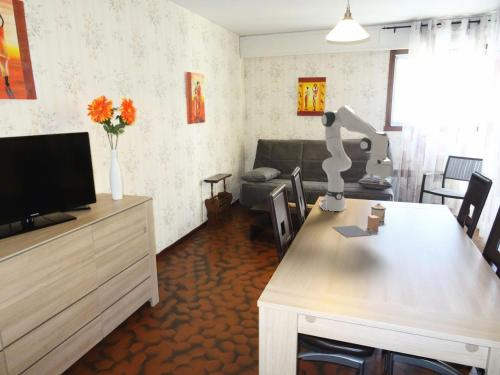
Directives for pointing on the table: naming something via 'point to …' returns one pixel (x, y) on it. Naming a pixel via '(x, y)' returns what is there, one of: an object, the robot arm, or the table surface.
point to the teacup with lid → (378, 211)
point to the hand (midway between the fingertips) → (376, 182)
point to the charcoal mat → (351, 231)
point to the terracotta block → (373, 222)
